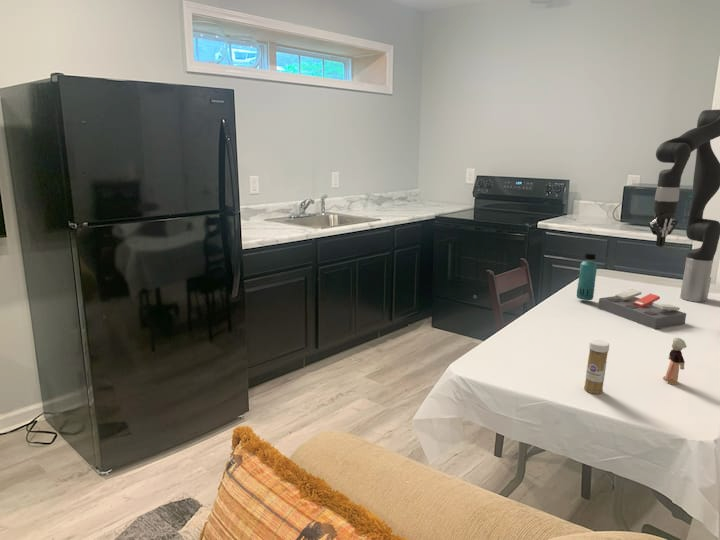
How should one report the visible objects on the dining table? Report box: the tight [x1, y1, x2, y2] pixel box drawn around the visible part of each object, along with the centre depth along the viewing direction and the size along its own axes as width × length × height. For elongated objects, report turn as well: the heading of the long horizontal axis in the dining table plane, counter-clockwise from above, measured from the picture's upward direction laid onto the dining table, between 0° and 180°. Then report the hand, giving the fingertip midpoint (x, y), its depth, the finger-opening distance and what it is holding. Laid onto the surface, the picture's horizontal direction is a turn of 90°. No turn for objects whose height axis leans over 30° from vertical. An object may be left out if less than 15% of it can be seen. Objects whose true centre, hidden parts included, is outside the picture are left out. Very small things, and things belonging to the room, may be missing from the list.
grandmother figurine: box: [662, 337, 688, 386], centre depth 143 cm, size 8×4×13 cm, turn 5°
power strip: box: [597, 295, 687, 330], centre depth 199 cm, size 15×25×4 cm, turn 23°
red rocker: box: [633, 293, 661, 308], centre depth 199 cm, size 9×4×2 cm, turn 112°
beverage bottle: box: [576, 252, 598, 301], centre depth 213 cm, size 6×7×20 cm
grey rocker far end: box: [652, 302, 681, 311], centre depth 192 cm, size 9×4×2 cm, turn 113°
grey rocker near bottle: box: [614, 288, 642, 300], centre depth 206 cm, size 9×4×2 cm, turn 113°
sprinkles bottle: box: [583, 339, 610, 395], centre depth 138 cm, size 5×5×13 cm
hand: (660, 246), depth 198 cm, fingers closed
